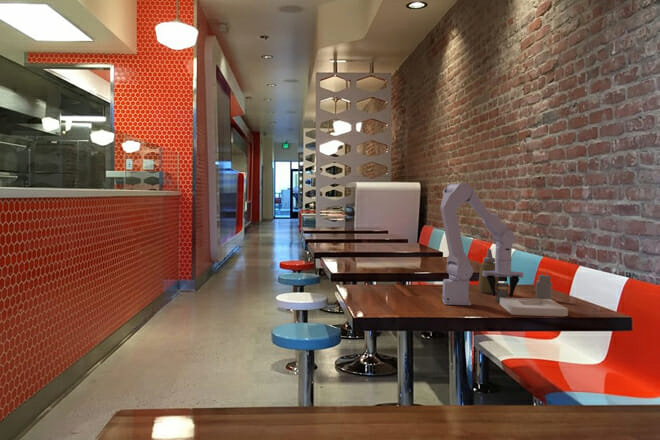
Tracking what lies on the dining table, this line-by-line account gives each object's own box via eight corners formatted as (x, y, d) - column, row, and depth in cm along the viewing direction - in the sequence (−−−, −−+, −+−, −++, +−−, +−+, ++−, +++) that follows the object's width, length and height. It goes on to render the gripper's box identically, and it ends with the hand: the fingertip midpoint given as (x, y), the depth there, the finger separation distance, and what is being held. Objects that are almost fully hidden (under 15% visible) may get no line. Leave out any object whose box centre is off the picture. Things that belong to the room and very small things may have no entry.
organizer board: (511, 314, 179) (512, 307, 179) (499, 304, 197) (499, 297, 196) (567, 316, 177) (567, 309, 177) (550, 305, 195) (550, 299, 195)
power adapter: (536, 299, 209) (537, 268, 208) (551, 300, 206) (552, 269, 205) (535, 300, 206) (536, 269, 206) (550, 301, 203) (551, 270, 203)
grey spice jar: (497, 302, 199) (498, 284, 199) (495, 300, 204) (495, 282, 203) (509, 303, 199) (509, 284, 199) (506, 301, 203) (506, 282, 203)
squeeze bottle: (500, 292, 223) (502, 249, 222) (495, 295, 216) (496, 250, 215) (481, 290, 227) (482, 248, 226) (475, 292, 220) (476, 249, 219)
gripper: (520, 259, 204) (519, 294, 205) (481, 258, 205) (480, 293, 206) (525, 261, 197) (524, 298, 198) (485, 260, 198) (484, 296, 199)
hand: (502, 296), depth 201 cm, fingers open, 6 cm apart
